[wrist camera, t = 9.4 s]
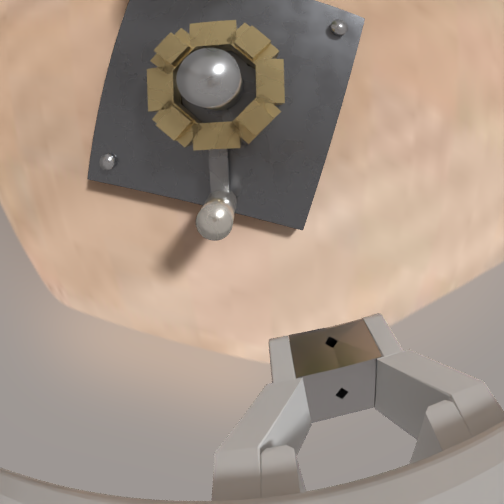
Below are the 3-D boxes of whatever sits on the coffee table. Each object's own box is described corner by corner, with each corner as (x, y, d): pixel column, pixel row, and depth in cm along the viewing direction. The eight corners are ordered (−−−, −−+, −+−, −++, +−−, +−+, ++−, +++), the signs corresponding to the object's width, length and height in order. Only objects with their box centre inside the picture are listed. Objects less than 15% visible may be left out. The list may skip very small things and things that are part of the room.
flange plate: (94, 176, 27) (52, 194, 20) (145, -21, 20) (115, -54, 13) (300, 225, 29) (315, 258, 22) (359, 22, 22) (391, -3, 15)
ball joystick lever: (156, 37, 21) (129, 17, 15) (279, 28, 21) (286, 2, 15) (166, 216, 27) (144, 242, 21) (283, 212, 27) (291, 238, 21)
